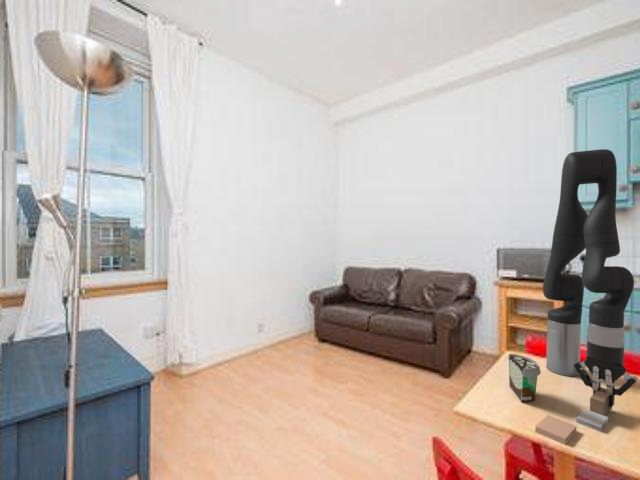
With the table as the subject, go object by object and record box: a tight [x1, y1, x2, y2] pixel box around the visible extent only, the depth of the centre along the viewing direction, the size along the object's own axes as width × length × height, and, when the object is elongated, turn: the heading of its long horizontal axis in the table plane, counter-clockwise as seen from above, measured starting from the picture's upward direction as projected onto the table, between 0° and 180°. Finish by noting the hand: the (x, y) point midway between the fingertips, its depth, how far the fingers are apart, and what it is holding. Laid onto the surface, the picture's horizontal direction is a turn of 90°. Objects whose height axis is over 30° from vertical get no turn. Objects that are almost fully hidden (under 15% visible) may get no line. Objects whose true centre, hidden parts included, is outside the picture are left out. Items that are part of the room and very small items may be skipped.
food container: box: [507, 353, 542, 404], centre depth 98 cm, size 12×6×10 cm, turn 168°
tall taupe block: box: [576, 386, 613, 433], centre depth 86 cm, size 14×5×5 cm, turn 126°
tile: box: [534, 414, 577, 446], centre depth 80 cm, size 2×6×8 cm
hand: (603, 405), depth 89 cm, fingers closed
